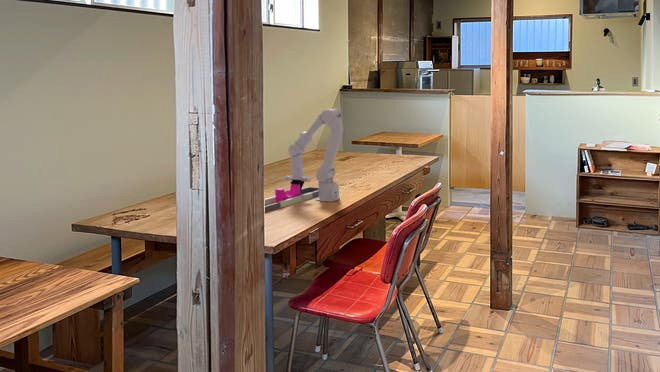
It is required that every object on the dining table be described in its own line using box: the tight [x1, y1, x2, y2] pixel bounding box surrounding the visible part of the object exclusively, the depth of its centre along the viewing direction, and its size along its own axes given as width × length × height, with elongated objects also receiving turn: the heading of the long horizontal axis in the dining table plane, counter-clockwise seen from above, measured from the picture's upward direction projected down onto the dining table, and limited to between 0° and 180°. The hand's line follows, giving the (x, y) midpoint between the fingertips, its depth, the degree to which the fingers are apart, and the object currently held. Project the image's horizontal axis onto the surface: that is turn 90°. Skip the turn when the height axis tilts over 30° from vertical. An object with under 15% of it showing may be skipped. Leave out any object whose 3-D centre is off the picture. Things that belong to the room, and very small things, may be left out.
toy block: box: [274, 184, 301, 203], centre depth 335 cm, size 15×6×8 cm, turn 146°
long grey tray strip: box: [264, 186, 319, 213], centre depth 338 cm, size 12×50×2 cm, turn 146°
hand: (298, 195), depth 344 cm, fingers closed
